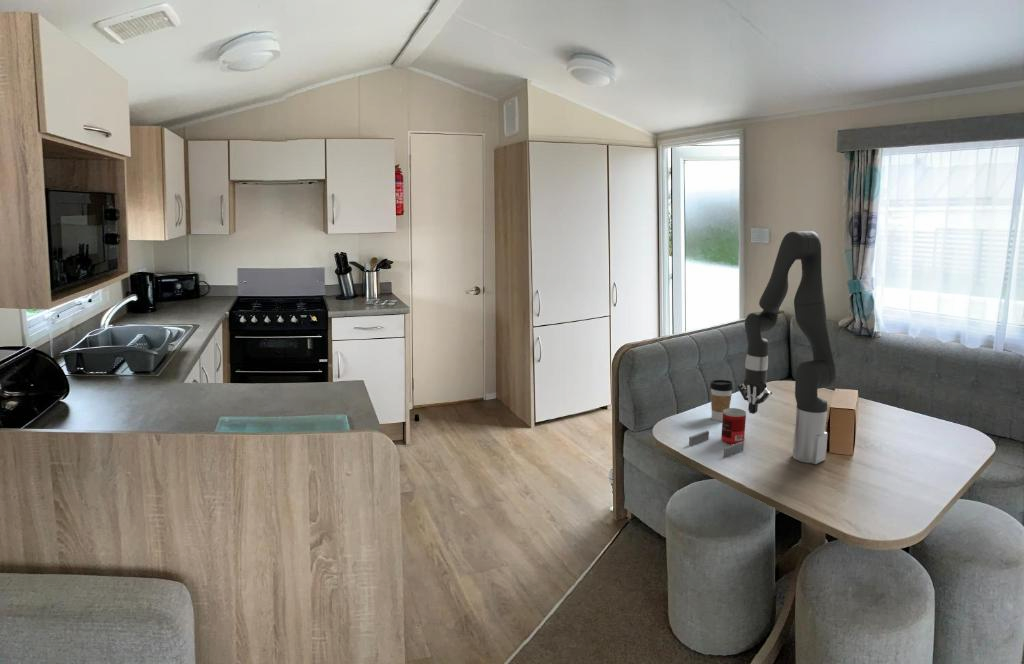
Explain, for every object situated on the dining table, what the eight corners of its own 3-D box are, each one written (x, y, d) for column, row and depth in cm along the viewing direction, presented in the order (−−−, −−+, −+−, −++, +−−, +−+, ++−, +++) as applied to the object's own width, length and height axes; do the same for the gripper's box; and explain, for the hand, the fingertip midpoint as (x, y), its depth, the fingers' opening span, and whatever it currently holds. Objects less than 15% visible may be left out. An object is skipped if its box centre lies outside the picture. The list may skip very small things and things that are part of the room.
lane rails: (743, 450, 240) (743, 442, 239) (726, 457, 234) (726, 449, 233) (706, 438, 251) (706, 430, 251) (688, 445, 245) (689, 436, 244)
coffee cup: (726, 423, 266) (728, 385, 263) (705, 419, 271) (707, 382, 268) (734, 417, 273) (736, 380, 270) (713, 413, 278) (715, 377, 275)
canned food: (746, 439, 250) (748, 410, 248) (740, 446, 243) (742, 416, 241) (724, 435, 254) (726, 406, 252) (718, 442, 247) (720, 412, 245)
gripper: (779, 369, 248) (774, 415, 252) (746, 361, 258) (742, 406, 262) (767, 372, 244) (763, 420, 248) (734, 364, 254) (730, 410, 258)
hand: (752, 412), depth 255 cm, fingers closed
